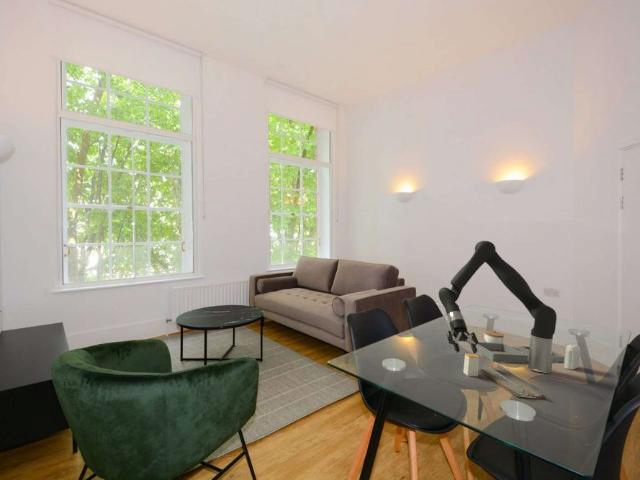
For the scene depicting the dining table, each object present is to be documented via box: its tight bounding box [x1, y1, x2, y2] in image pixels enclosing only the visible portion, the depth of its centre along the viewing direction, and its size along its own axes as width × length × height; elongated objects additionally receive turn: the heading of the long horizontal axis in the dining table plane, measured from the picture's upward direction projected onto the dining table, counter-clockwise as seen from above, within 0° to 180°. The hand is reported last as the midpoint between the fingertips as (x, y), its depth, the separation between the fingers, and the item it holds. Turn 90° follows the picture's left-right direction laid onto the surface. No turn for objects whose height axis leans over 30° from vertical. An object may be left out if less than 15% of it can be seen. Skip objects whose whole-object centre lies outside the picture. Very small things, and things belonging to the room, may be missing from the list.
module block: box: [462, 353, 480, 377], centre depth 153 cm, size 5×4×9 cm
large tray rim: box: [476, 341, 529, 363], centre depth 186 cm, size 20×20×4 cm
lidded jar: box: [483, 330, 505, 343], centre depth 205 cm, size 11×11×9 cm
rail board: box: [479, 363, 546, 400], centre depth 146 cm, size 12×26×4 cm, turn 6°
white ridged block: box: [563, 343, 581, 370], centre depth 175 cm, size 10×4×12 cm, turn 123°
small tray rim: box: [518, 345, 565, 363], centre depth 191 cm, size 16×16×3 cm
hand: (466, 352), depth 158 cm, fingers open, 8 cm apart
